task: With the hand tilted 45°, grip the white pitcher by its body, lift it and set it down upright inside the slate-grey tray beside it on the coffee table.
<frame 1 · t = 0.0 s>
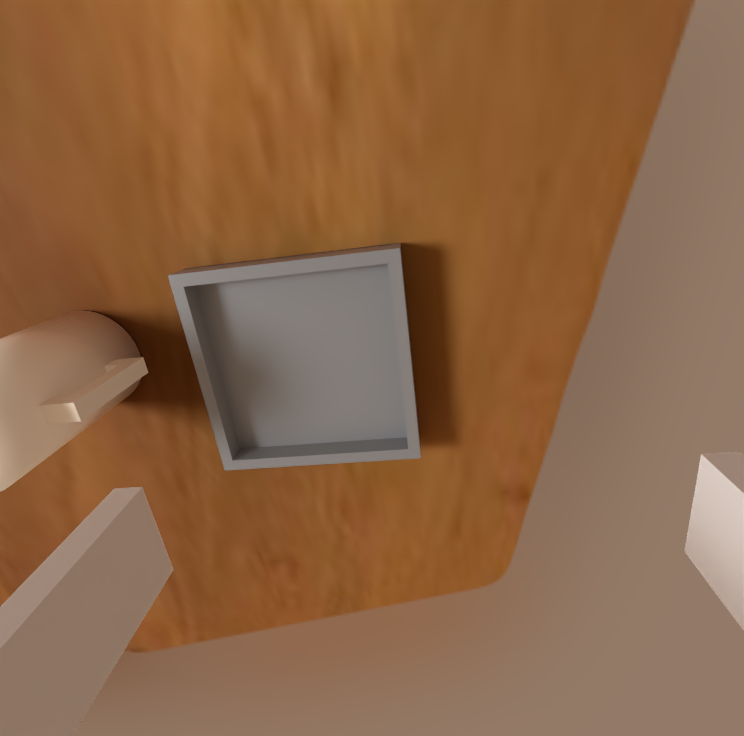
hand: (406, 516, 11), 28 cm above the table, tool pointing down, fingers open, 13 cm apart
slate tray: (309, 359, 40), on the table
white pitcher: (94, 358, 41), on the table
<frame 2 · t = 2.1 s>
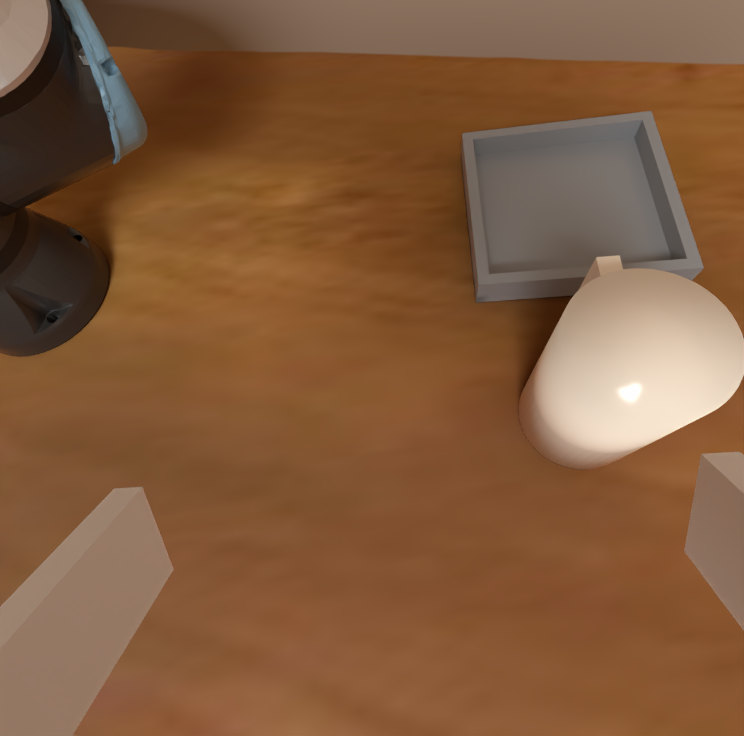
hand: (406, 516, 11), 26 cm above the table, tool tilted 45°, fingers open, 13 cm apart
slate tray: (561, 215, 44), on the table
white pitcher: (575, 413, 37), on the table
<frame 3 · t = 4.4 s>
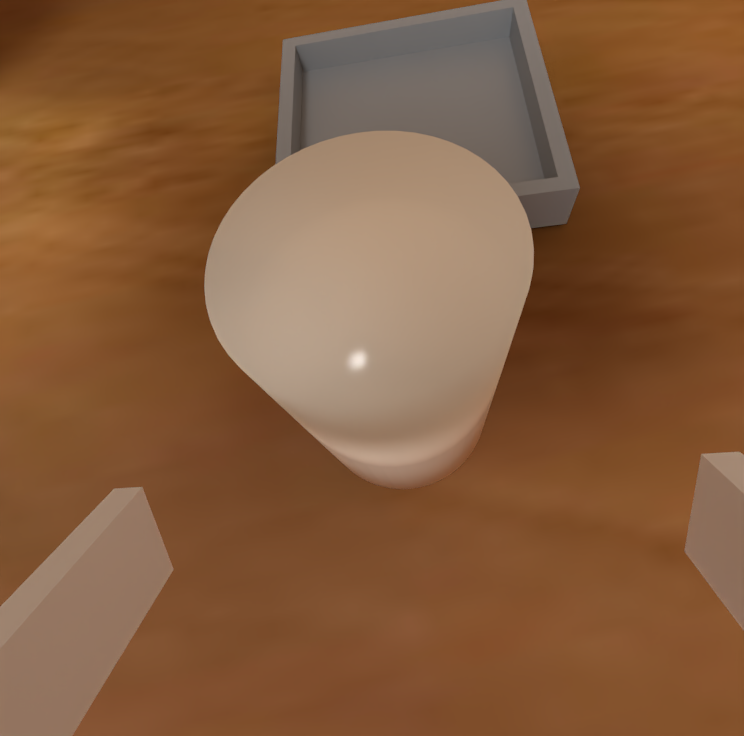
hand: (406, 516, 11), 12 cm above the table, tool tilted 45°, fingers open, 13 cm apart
slate tray: (411, 140, 33), on the table
white pitcher: (402, 406, 25), on the table
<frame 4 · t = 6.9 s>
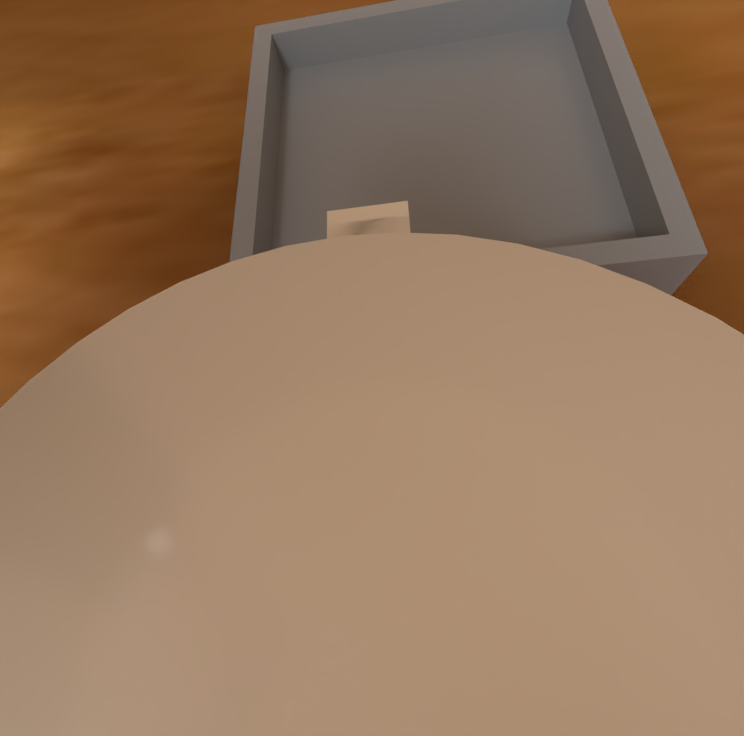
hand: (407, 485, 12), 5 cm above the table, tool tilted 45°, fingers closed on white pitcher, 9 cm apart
slate tray: (432, 166, 23), on the table
white pitcher: (423, 601, 16), on the table, touching gripper
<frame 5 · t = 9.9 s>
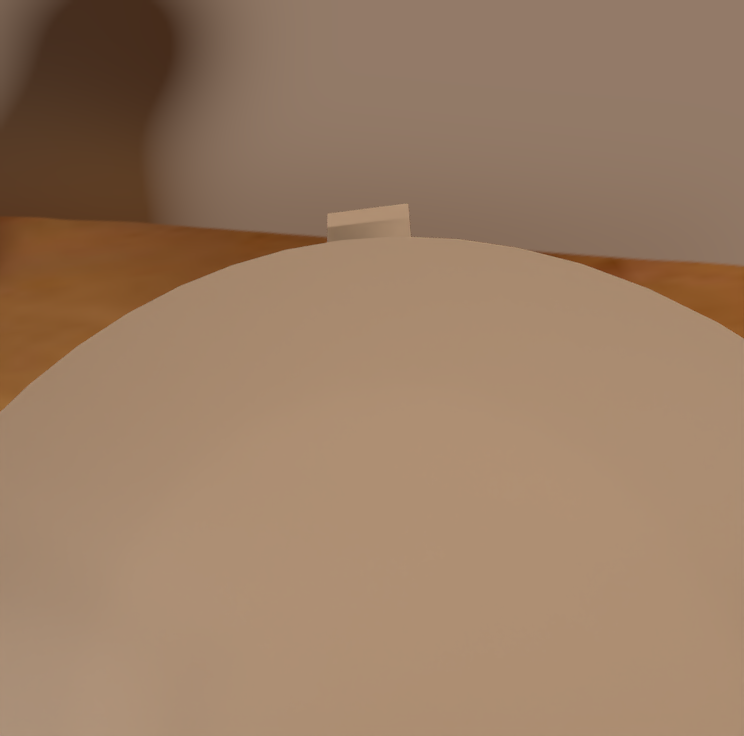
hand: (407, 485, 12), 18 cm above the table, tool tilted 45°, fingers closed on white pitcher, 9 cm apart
white pitcher: (424, 603, 16), point 13 cm above the table, touching gripper
when the fingers open (8 cm above the table, at t = 13.1 s): white pitcher drops 1 cm, resting on slate tray.
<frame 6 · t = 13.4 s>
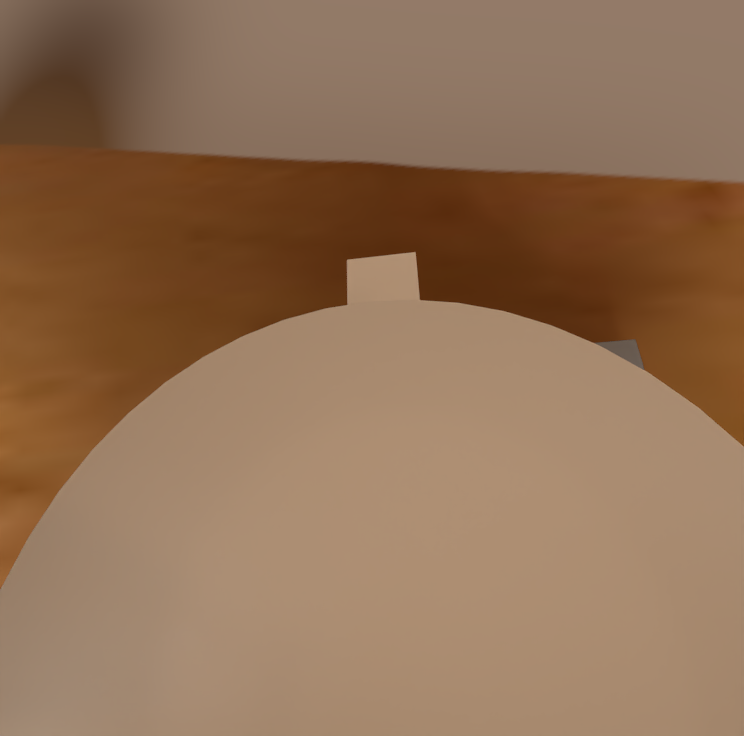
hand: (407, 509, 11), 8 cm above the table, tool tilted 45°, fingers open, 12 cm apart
slate tray: (426, 595, 18), on the table
white pitcher: (425, 600, 17), point 1 cm above the table, touching slate tray
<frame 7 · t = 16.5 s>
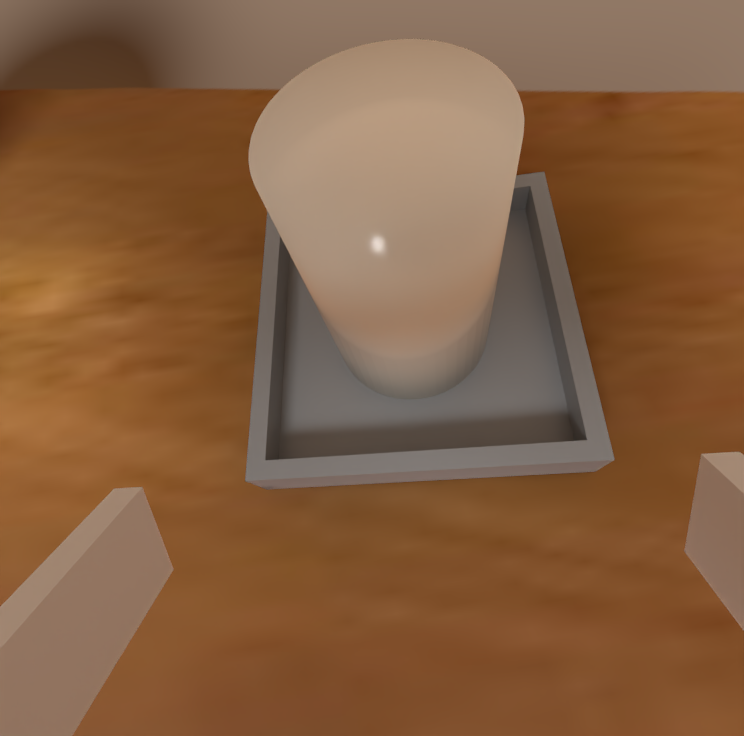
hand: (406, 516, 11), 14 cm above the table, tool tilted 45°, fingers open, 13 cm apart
slate tray: (412, 335, 28), on the table
white pitcher: (411, 329, 27), point 1 cm above the table, touching slate tray
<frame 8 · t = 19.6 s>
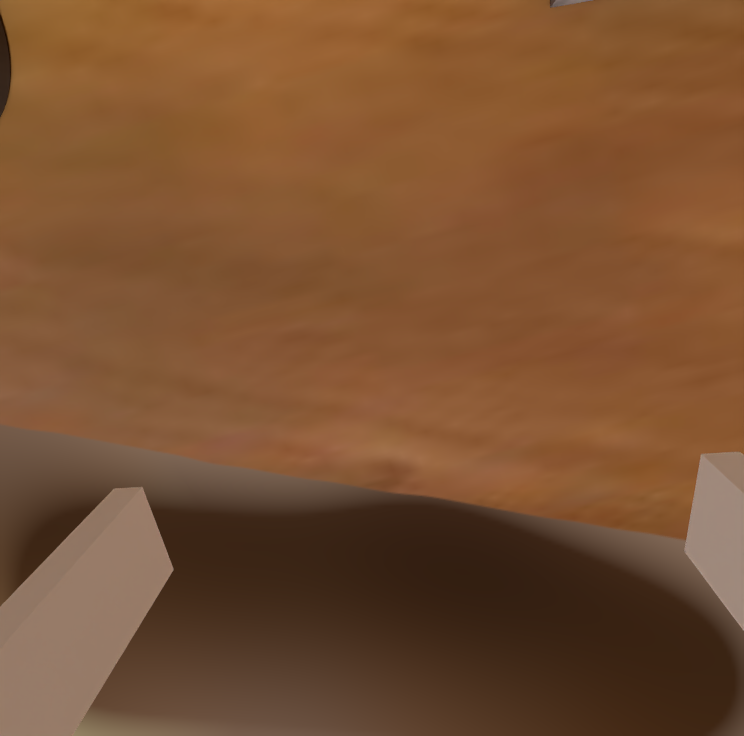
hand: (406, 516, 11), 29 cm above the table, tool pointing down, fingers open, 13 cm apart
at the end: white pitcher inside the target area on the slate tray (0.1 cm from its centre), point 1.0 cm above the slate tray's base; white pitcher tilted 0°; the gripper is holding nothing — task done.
